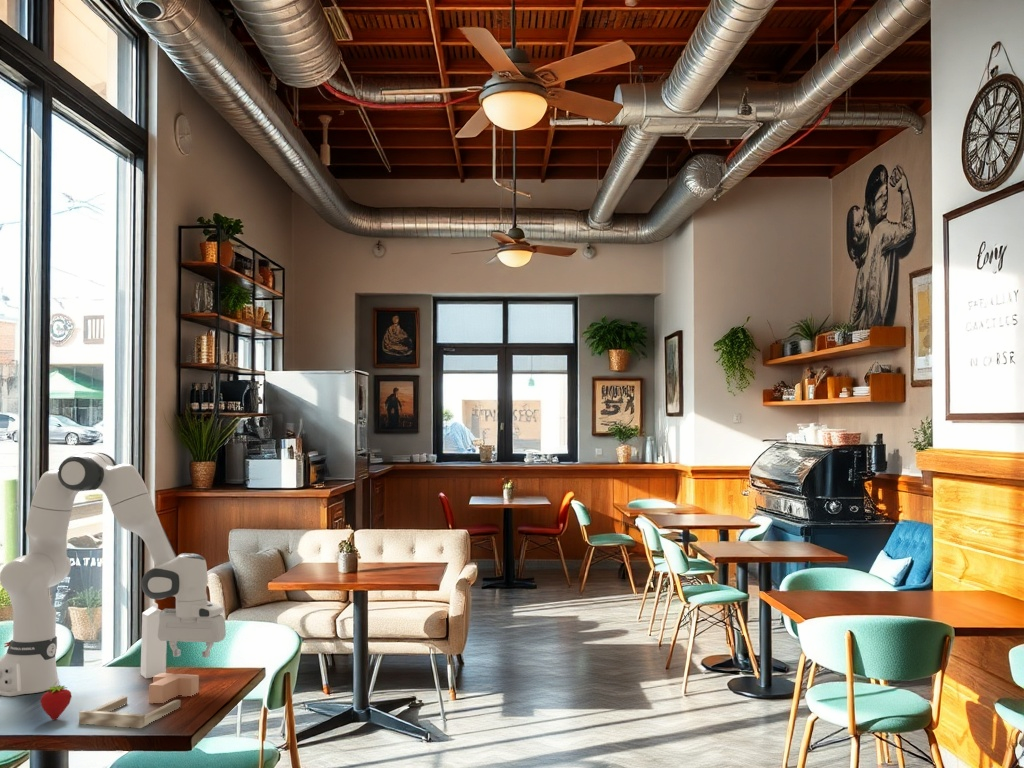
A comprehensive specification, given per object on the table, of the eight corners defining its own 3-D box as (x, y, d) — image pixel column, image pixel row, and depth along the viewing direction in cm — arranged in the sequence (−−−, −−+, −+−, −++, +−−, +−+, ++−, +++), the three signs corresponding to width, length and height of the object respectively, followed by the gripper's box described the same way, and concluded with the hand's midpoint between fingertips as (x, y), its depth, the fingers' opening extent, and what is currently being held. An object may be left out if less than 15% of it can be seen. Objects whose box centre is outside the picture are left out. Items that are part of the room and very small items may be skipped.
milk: (145, 678, 271) (147, 605, 272) (140, 674, 276) (141, 602, 277) (166, 675, 275) (167, 603, 276) (160, 671, 280) (162, 600, 281)
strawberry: (75, 717, 232) (77, 678, 233) (47, 725, 226) (48, 685, 227) (63, 714, 236) (64, 675, 236) (34, 721, 229) (36, 681, 230)
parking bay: (78, 724, 227) (79, 711, 228) (122, 703, 245) (122, 692, 245) (140, 728, 224) (141, 716, 224) (180, 707, 242) (180, 696, 242)
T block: (135, 702, 247) (136, 683, 247) (160, 690, 258) (161, 673, 259) (175, 704, 244) (175, 686, 245) (198, 692, 256) (198, 675, 256)
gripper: (153, 610, 262) (153, 658, 261) (217, 611, 259) (217, 660, 258) (165, 606, 269) (165, 653, 268) (228, 607, 265) (228, 655, 264)
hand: (191, 656), depth 263 cm, fingers open, 8 cm apart
